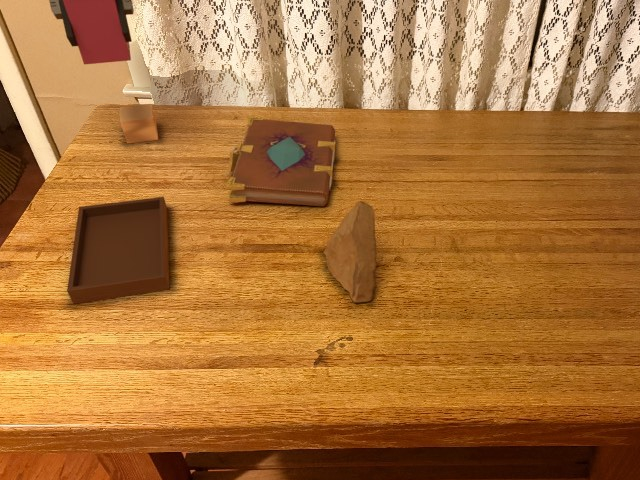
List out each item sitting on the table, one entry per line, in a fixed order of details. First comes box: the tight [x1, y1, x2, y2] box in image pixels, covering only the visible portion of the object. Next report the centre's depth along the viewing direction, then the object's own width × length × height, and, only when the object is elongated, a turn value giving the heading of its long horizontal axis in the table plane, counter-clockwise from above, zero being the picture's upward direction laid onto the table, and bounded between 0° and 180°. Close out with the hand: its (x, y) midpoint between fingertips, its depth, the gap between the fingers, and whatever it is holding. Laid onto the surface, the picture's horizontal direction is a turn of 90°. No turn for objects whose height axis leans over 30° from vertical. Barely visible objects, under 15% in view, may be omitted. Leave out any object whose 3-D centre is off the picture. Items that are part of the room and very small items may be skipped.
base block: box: [119, 103, 159, 144], centre depth 99 cm, size 5×5×4 cm
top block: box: [63, 0, 132, 65], centre depth 79 cm, size 6×6×10 cm
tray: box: [66, 196, 171, 305], centre depth 78 cm, size 17×11×2 cm, turn 16°
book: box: [225, 115, 336, 207], centre depth 94 cm, size 16×25×5 cm, turn 1°
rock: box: [323, 200, 377, 304], centre depth 75 cm, size 11×9×10 cm
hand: (100, 39), depth 78 cm, fingers closed on top block, 6 cm apart
